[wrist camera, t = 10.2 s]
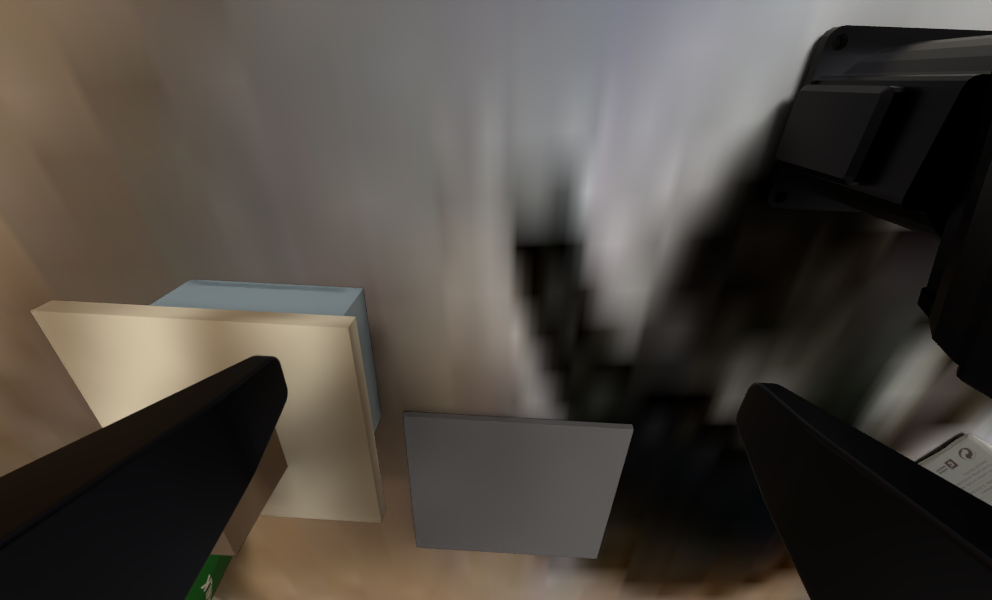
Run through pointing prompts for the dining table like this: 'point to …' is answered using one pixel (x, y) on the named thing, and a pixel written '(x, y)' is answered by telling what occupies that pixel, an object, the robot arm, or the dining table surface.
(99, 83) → the dining table surface
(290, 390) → the lid
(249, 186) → the dining table surface
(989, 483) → the skincare box
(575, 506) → the mat
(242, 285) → the light blue storage bin
